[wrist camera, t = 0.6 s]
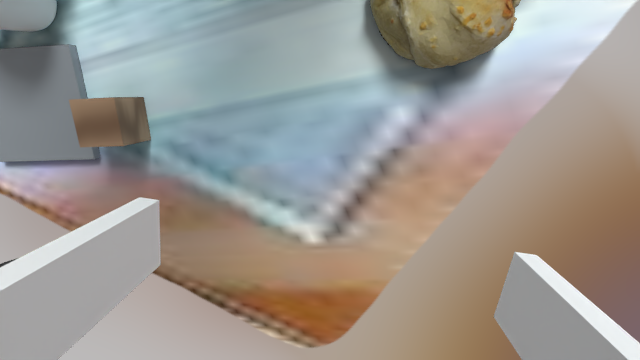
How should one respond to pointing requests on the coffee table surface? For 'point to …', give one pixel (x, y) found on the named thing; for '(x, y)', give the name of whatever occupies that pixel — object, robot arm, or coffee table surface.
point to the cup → (27, 14)
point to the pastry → (443, 28)
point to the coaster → (40, 104)
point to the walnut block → (110, 121)
